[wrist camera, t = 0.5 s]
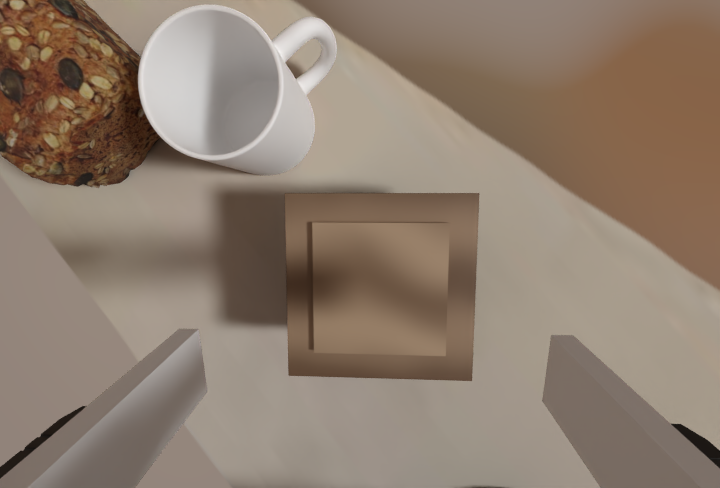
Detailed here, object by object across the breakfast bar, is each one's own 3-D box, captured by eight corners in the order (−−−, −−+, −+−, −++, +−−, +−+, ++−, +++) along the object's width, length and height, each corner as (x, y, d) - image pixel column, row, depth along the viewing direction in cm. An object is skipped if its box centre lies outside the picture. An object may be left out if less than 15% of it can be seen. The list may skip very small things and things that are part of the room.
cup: (202, 117, 29) (107, 69, 19) (312, 26, 28) (274, -79, 18) (260, 196, 29) (198, 189, 19) (372, 109, 28) (368, 54, 18)
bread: (-32, 41, 29) (-240, -44, 20) (42, -56, 28) (-139, -197, 18) (122, 195, 30) (-4, 189, 20) (201, 108, 29) (108, 56, 19)
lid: (460, 360, 25) (473, 384, 21) (299, 355, 25) (287, 378, 22) (466, 195, 23) (481, 192, 20) (296, 195, 24) (282, 193, 21)
